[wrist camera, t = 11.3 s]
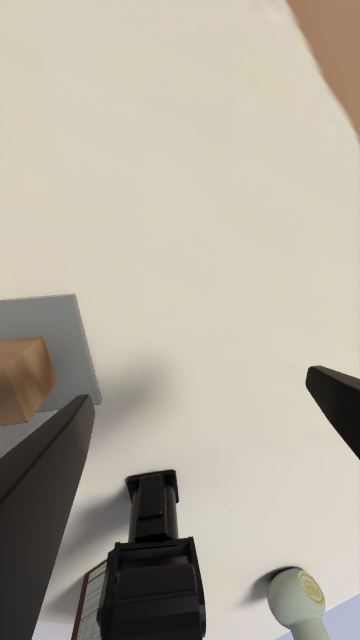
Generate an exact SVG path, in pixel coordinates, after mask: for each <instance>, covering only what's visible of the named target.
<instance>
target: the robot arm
mask: <svg viewBox="0 0 360 640" xmlns="http://www.w3.org/2000/svg"><path fill="white" fill-rule="evenodd" d="M306 387H307V389H308V391H309V392H310V394H311V395H312V397H313V398H314V400H315V401H316V403H317V404H318V406H319V407H320V409H321V410H322V412H323V413H324V415H325V416H326V418H327V419H328V420H329V422H330V423H331V425H332V426H333V427H334V428H335V430H336V431H337V432H338V433H339V435H340V436H341V437H342V438H343V440H344V441H345V442H346V443H347V445H348V446H349V447H350V448H351V450H352V451H353V452H354V453H355V455H356V456H357V457H358V458H359V460H360V379H358V378H355V377H352V376H349V375H346V374H344V373H341V372H338V371H335V370H332V369H329V368H326V367H323V366H311V367H309V368H308V372H307V377H306ZM94 418H95V409H94V406H93V402H92V398H91V396H90V395H89V394H83V395H78V396H77V397H75V398H74V399H73V400H72V401H70V402H69V403H68V404H67V405H65V406H64V407H63V408H62V409H61V410H59V411H58V412H57V413H56V414H54V415H53V416H52V417H51V418H50V419H48V420H47V421H46V422H45V423H43V424H42V425H41V426H40V427H38V428H37V429H36V430H35V431H34V432H32V433H31V434H30V435H29V436H27V437H26V438H25V439H24V440H23V441H21V442H20V443H19V444H18V445H16V446H15V447H14V448H13V449H11V450H10V451H9V452H8V453H7V454H5V455H4V456H3V457H2V458H0V640H31V639H32V636H33V633H34V629H35V625H36V623H37V620H38V616H39V613H40V610H41V606H42V603H43V600H44V597H45V593H46V590H47V587H48V583H49V580H50V577H51V574H52V570H53V567H54V564H55V560H56V557H57V554H58V551H59V547H60V544H61V541H62V537H63V534H64V531H65V528H66V524H67V521H68V518H69V514H70V511H71V508H72V505H73V501H74V498H75V495H76V491H77V488H78V485H79V481H80V478H81V475H82V472H83V468H84V465H85V461H86V458H87V453H88V449H89V443H90V438H91V433H92V428H93V423H94ZM127 486H128V490H129V494H130V499H131V503H132V507H131V517H130V528H129V539H128V543H120V542H115V547H114V549H113V550H112V551H110V552H109V553H108V558H107V564H106V570H105V576H104V581H103V586H102V591H101V595H100V600H99V605H98V610H97V616H96V622H97V624H98V626H99V629H100V638H101V640H202V638H204V637H205V633H206V611H205V599H204V591H203V585H202V579H201V574H200V569H199V564H198V559H197V554H196V549H195V544H194V539H193V536H192V537H188V538H181V539H178V526H177V513H176V503H178V502H179V497H178V487H177V478H176V471H174V470H171V471H165V472H158V473H152V474H146V475H139V476H133V477H129V478H128V479H127ZM118 573H119V574H118Z"/></svg>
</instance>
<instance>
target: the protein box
mask: <svg viewBox="0 0 360 640" xmlns="http://www.w3.org/2000/svg"><path fill="white" fill-rule="evenodd" d="M106 564H107V560H106V561H104V562H103V563H101V564H100V565H99V566H97V567H96V568H94V569H93V570H92V571H90V572H89V573H87V574H86V575H85V576H84V580H83V585H82V590H81V595H80V600H79V604H78V609H77V614H76V619H75V623H74V628H73V633H72V637H71V640H101V638H100V629H99V626H98V624H97V622H96V616H97V610H98V605H99V600H100V595H101V591H102V586H103V581H104V576H105V570H106ZM118 574H119V573H118Z"/></svg>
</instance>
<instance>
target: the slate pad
mask: <svg viewBox="0 0 360 640" xmlns="http://www.w3.org/2000/svg"><path fill="white" fill-rule="evenodd" d="M39 336H43V339H44V342H45V345H46V348H47V351H48V354H49V357H50V360H51V363H52V366H53V369H54V372H55V375H56V378H57V381H58V382H57V383H56V384H55V386H54V387H53V389H52V390H51V391H50V393H49V394H48V395H47V397H46V398H45V400H44V401H43V402H42V404H41V405H40V406H39V408H38V409H37V411H36V412H35V413H38V412H45V411H53V410H61V409H62V408H63V407H64V406H65V405H67V404H68V403H69V402H70V401H72V400H73V399H74V398H75V397H77V396H78V395H83V394H89V395H90V396H91V398H92V402H93V405H100V404H101V401H102V399H101V395H100V391H99V387H98V383H97V379H96V375H95V371H94V367H93V363H92V359H91V355H90V351H89V348H88V344H87V340H86V336H85V332H84V328H83V324H82V320H81V316H80V312H79V308H78V304H77V300H76V296H75V294H65V295H54V296H42V297H30V298H18V299H6V300H0V340H7V339H18V338H28V337H39Z"/></svg>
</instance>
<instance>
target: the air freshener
mask: <svg viewBox="0 0 360 640" xmlns="http://www.w3.org/2000/svg"><path fill="white" fill-rule="evenodd" d="M267 598H268V604H269V607H270V610H271V612H272V614H273V615H274V617H275V618H276V620H277V621H278V622H279V623H280V624H281V625H283V626H284V627H286V628H288V629H290V630H291V632H292V635H293V638H294V640H330V638H329V636H328V633H327V631H326V629H325V627H324V624H323V622H322V616H323V614H324V610H325V598H324V595H323V593H322V590H321V589H320V587H319V585H318V584H317V582H316V581H315V580H314V579H313V577H312V576H311V575H309V574H308V573H307V572H305V571H303V570H300V569H298V568H289V569H286V570H284V571H282V572H280V573H278V574H277V575H276V576H275V577H274V578H273V579H272V581H271V583H270V585H269V588H268V596H267Z"/></svg>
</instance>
